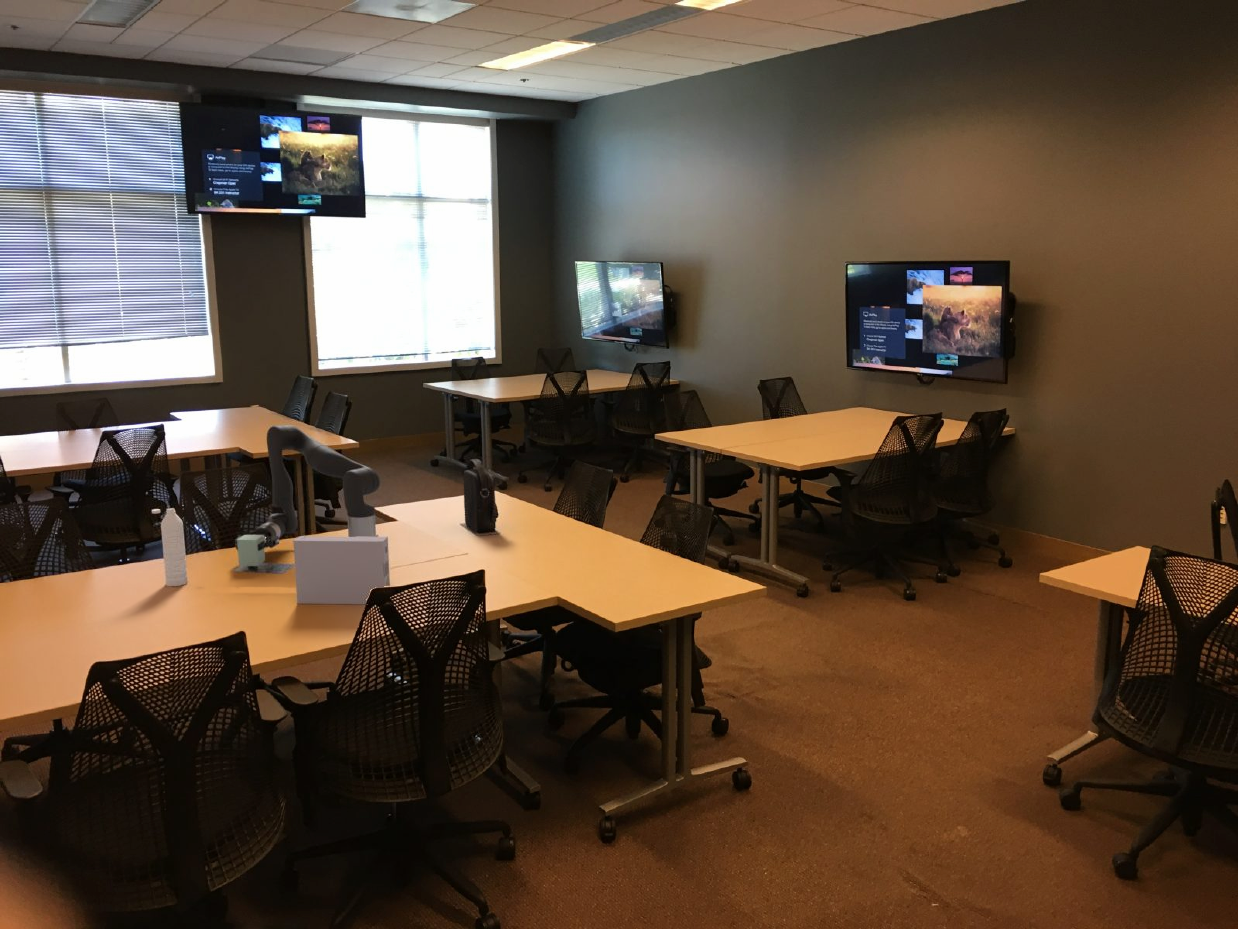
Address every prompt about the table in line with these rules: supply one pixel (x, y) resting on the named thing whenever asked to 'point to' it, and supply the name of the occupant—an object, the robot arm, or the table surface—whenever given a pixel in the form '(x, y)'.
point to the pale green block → (250, 550)
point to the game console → (339, 568)
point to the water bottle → (173, 548)
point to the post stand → (266, 568)
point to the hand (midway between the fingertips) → (248, 547)
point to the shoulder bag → (479, 499)
